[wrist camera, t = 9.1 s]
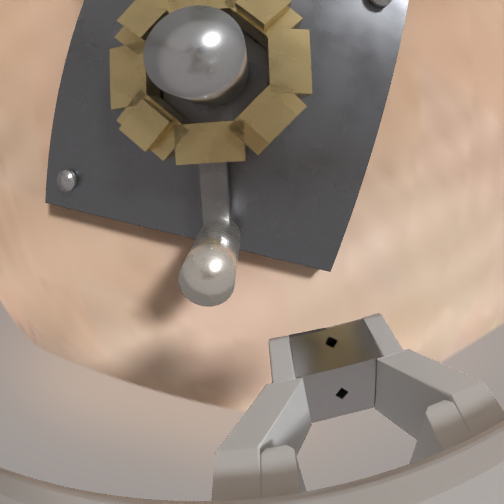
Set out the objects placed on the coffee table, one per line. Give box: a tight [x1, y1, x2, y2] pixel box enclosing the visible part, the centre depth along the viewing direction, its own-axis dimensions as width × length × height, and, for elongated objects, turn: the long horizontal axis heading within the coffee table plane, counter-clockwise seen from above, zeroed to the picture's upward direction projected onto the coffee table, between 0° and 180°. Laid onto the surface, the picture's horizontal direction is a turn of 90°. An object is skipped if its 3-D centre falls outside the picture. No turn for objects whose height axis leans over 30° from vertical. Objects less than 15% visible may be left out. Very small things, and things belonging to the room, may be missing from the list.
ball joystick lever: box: [110, 0, 312, 306], centre depth 14 cm, size 16×10×6 cm, turn 2°
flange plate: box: [46, 0, 409, 272], centre depth 14 cm, size 20×20×8 cm
